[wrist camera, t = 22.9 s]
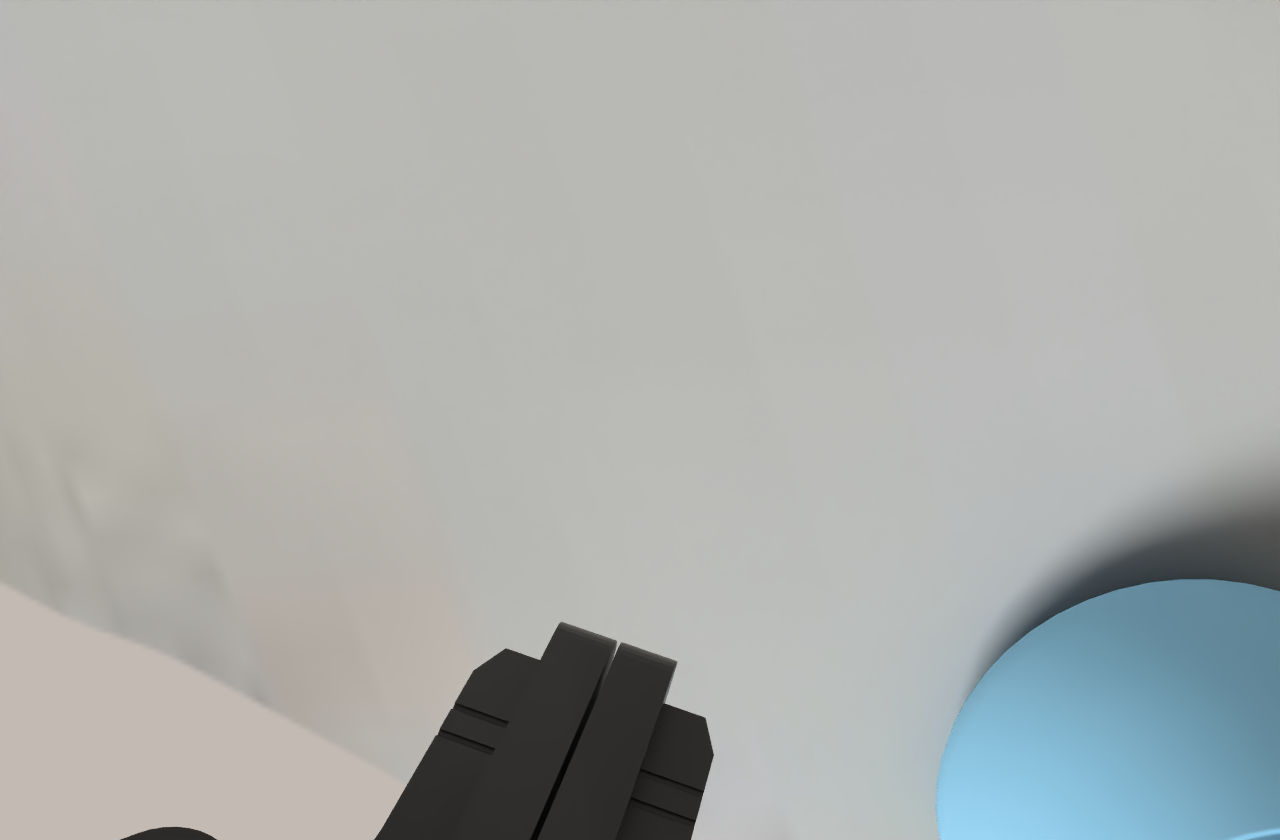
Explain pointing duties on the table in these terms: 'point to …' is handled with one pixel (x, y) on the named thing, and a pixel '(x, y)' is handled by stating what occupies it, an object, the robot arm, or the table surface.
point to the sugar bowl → (1126, 723)
